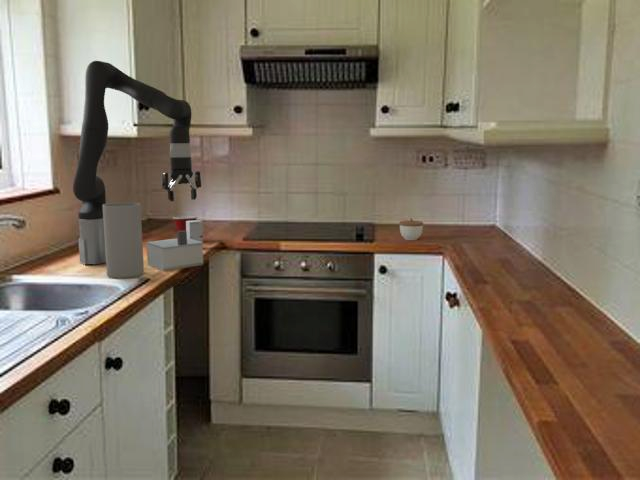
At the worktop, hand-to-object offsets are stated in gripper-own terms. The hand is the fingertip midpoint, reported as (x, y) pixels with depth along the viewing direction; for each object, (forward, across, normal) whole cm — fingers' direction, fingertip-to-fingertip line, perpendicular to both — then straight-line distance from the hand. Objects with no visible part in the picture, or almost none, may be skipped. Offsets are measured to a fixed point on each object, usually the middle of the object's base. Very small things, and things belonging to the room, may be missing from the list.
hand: (182, 200), depth 237 cm
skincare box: (+25, +18, +29) cm, 42 cm away
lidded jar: (+25, +107, -10) cm, 111 cm away
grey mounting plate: (+17, -2, +4) cm, 17 cm away
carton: (+25, -2, +4) cm, 25 cm away
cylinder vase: (+25, -23, -1) cm, 34 cm away
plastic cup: (+25, +21, +45) cm, 56 cm away
